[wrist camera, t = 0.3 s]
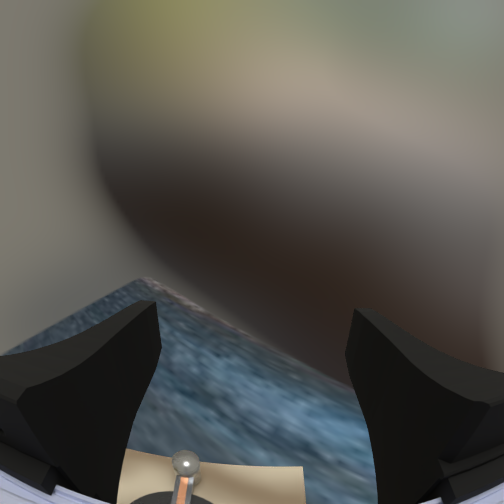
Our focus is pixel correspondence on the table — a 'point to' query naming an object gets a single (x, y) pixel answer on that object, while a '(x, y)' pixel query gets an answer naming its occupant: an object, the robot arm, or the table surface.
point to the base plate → (212, 481)
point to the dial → (179, 482)
